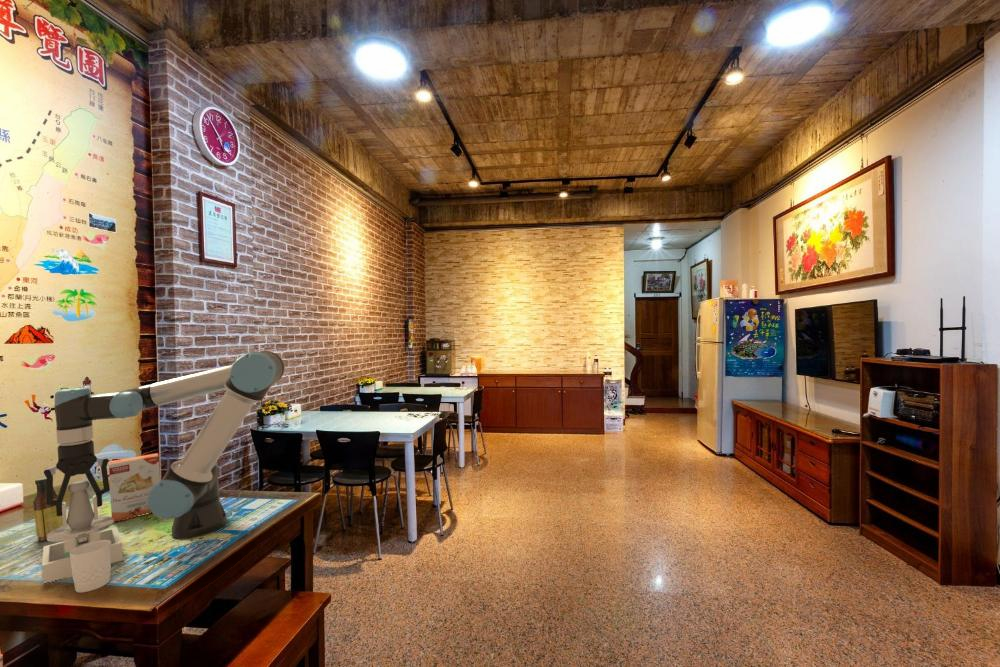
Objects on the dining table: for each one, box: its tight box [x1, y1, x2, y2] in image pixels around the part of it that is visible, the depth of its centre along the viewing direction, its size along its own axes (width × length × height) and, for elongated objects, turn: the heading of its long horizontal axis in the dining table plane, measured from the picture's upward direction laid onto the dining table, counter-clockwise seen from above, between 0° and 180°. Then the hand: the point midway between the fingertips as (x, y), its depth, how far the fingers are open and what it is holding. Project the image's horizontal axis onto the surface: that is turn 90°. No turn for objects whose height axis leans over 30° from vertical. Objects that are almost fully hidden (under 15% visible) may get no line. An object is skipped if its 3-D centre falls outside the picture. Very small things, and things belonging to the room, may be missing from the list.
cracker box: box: [108, 452, 161, 523], centre depth 161 cm, size 14×6×21 cm, turn 129°
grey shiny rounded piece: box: [47, 515, 115, 548], centre depth 127 cm, size 18×14×6 cm
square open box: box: [41, 526, 124, 585], centre depth 127 cm, size 17×16×10 cm
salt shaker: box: [66, 479, 94, 530], centre depth 128 cm, size 6×6×13 cm
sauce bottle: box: [32, 476, 63, 542], centre depth 145 cm, size 7×6×20 cm
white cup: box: [70, 540, 112, 593], centre depth 115 cm, size 8×8×10 cm
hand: (80, 522), depth 128 cm, fingers closed on salt shaker, 6 cm apart
